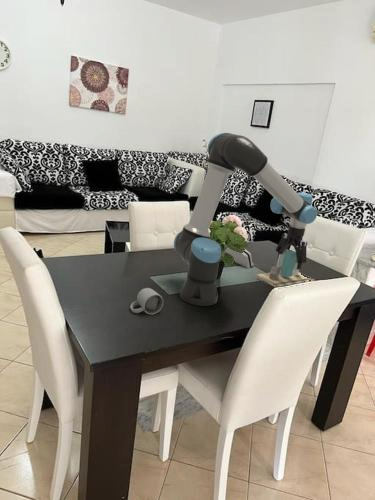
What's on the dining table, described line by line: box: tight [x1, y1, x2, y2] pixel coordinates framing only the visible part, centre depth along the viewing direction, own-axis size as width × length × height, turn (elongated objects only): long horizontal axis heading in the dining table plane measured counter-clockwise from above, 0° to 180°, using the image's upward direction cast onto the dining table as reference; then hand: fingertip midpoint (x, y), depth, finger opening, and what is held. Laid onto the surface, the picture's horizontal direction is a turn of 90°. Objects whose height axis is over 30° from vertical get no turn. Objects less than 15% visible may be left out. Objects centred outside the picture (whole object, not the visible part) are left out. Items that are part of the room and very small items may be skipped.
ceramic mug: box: [130, 287, 164, 315], centre depth 139 cm, size 11×8×8 cm
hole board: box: [253, 265, 316, 287], centre depth 187 cm, size 28×14×7 cm, turn 123°
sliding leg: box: [280, 250, 297, 277], centre depth 186 cm, size 4×4×13 cm
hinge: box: [224, 248, 255, 269], centre depth 202 cm, size 17×5×10 cm, turn 41°
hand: (286, 270), depth 187 cm, fingers open, 10 cm apart
